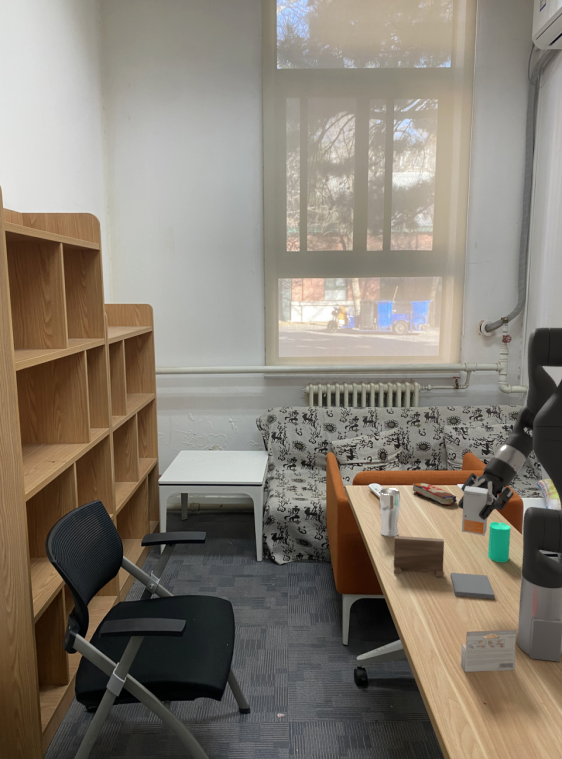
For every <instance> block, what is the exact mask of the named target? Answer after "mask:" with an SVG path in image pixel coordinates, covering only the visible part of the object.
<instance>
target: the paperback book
mask: <svg viewBox="0 0 562 759" xmlns="http://www.w3.org/2000/svg"><path fill="white" fill-rule="evenodd" d="M412 491H413V492H415V493H417V494H419V495H421V496H423V497H425V498H428V499H430V498H431V500H433V501H435V502H437V503H439V504H442V505H447V506H451V505H453V504H455V503H456V502H457V496H456V495H454V494H453V493H451V492H449V491H446V490H445V489H442V488H439V487H438V486H436V485H432V484H428V483H423V482H416V483H412Z"/></svg>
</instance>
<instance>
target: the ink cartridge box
mask: <svg viewBox="0 0 562 759" xmlns="http://www.w3.org/2000/svg"><path fill="white" fill-rule="evenodd" d="M517 632H518V629H500V630H497V629H496V630H479V631H478V630H473V631H466V638H465V640H466V641H465V643H464V644H463V643H462V644H461V652H460V653H461V654H460V656H461V657H460V665H461V668H462V670H463V671H464V673H469V672H471V673H472V672H473V673H474V672H496V671H515V668H516V643H517V642H516V640H517ZM492 634H493V635H495V636H498V637H489V638H485V637H486V636H489V635H492Z"/></svg>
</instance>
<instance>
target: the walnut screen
mask: <svg viewBox="0 0 562 759" xmlns="http://www.w3.org/2000/svg"><path fill="white" fill-rule="evenodd" d="M393 538H394V540H393V541H394V545H393V552H394V553H393V573H394V574H395V575H402V571H405V572H417V573H429V574H435V576H436V578H445V573H444V572H445V571H444V556H445V555H444V554H445V553H444V552H445V551H444V550H445V547H444V546H445V540H444V538H433V537H432V538H431V537H428V538H427V537H418V536H406V535H405V536H403V535H401V536H400V535H397V536H395V537H393Z"/></svg>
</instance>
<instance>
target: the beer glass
mask: <svg viewBox="0 0 562 759" xmlns="http://www.w3.org/2000/svg"><path fill="white" fill-rule="evenodd" d="M379 492H380V493H379V513H380V518H381V525H380V526H381V527H380V531H379V532H380V535H382V536H383V535H384V536H383V537H386V536H388V537H387V538H394V537H393V536H399V529H398V520H399V515H400V511H401V494H400V493H401V492H400V490H398V489H396V488H389V487H388V488H387V487H386V488H381V489H380V491H379Z"/></svg>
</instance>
